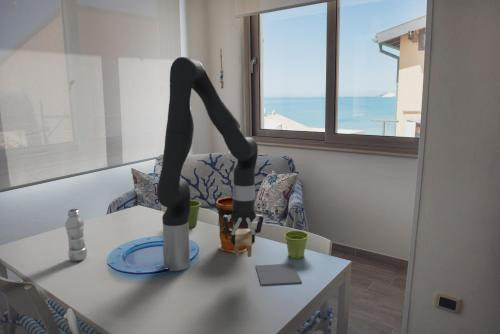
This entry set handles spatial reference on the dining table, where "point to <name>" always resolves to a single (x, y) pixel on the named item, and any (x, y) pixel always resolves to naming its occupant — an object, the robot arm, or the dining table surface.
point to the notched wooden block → (243, 241)
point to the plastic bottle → (75, 236)
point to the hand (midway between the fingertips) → (242, 243)
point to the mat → (277, 274)
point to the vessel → (226, 209)
